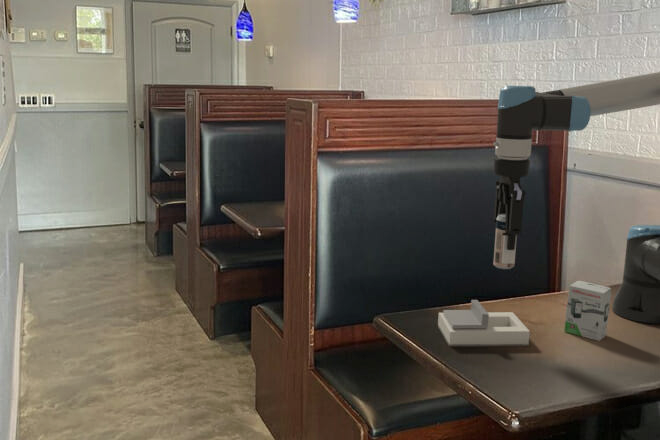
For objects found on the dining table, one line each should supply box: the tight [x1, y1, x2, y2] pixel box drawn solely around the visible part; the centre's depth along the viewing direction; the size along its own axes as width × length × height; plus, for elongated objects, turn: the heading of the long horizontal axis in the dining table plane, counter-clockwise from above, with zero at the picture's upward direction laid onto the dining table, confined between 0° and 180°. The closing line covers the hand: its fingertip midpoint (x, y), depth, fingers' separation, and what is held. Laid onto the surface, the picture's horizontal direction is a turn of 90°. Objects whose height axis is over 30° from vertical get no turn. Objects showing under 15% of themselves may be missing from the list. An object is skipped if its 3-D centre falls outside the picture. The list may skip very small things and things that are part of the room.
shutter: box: [442, 299, 489, 328], centre depth 158 cm, size 8×10×3 cm
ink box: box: [563, 280, 613, 342], centre depth 161 cm, size 9×5×12 cm, turn 50°
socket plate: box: [437, 311, 531, 347], centre depth 160 cm, size 18×12×4 cm, turn 93°
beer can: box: [492, 214, 515, 270], centre depth 155 cm, size 5×5×12 cm
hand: (504, 259), depth 156 cm, fingers closed on beer can, 5 cm apart
